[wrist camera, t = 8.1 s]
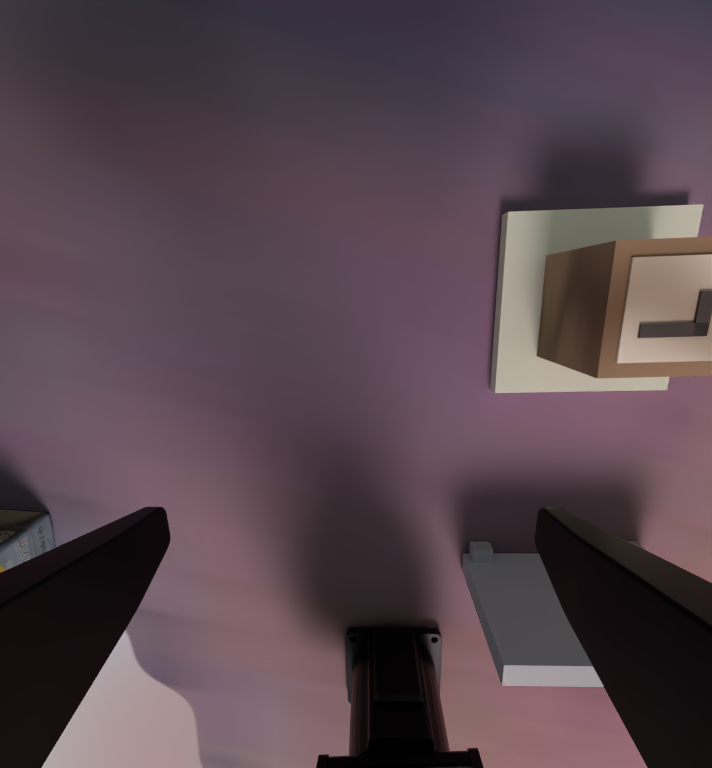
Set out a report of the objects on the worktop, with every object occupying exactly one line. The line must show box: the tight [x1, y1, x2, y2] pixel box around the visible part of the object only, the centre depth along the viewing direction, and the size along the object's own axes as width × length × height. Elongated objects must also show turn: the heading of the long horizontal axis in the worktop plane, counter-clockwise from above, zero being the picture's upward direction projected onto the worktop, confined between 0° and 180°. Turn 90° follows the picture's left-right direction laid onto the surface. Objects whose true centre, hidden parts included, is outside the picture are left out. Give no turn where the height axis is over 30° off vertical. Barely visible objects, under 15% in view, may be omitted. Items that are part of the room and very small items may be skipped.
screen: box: [462, 541, 645, 687], centre depth 19 cm, size 3×11×7 cm, turn 92°
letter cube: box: [537, 236, 712, 379], centre depth 15 cm, size 5×5×5 cm
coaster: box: [490, 204, 704, 393], centre depth 18 cm, size 9×9×1 cm
